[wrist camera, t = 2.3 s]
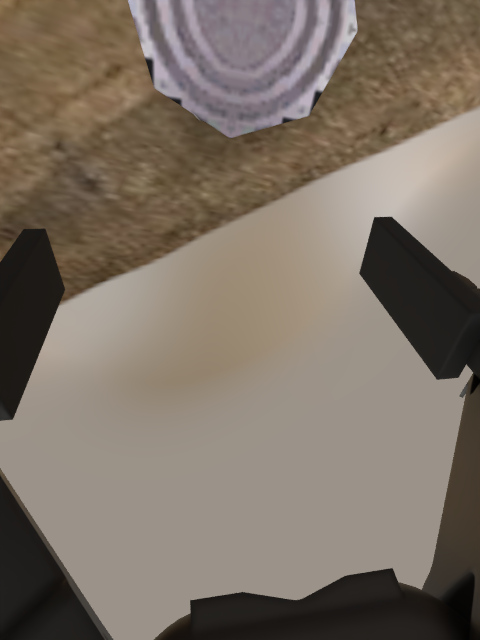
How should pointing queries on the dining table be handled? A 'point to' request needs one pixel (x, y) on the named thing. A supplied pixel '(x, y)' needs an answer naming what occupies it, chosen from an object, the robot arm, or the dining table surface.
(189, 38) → the can
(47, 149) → the dining table surface
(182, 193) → the dining table surface
